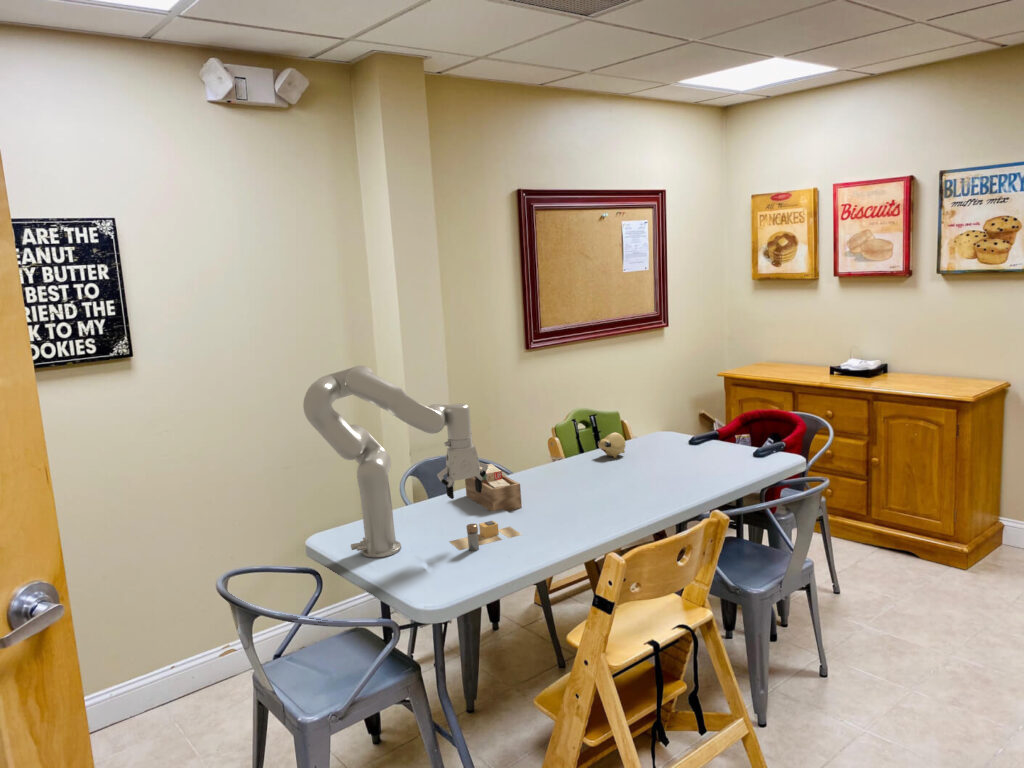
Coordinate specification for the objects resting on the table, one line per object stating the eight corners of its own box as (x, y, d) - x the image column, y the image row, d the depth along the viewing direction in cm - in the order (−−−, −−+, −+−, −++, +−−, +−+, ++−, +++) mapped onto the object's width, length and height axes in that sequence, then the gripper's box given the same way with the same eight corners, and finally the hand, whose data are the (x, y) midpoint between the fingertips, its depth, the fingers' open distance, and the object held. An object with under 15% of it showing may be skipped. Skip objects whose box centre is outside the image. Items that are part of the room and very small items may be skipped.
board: (459, 553, 237) (459, 550, 237) (449, 544, 245) (449, 541, 245) (522, 538, 247) (522, 534, 246) (510, 530, 255) (510, 526, 254)
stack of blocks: (512, 509, 276) (510, 476, 274) (496, 512, 274) (493, 479, 272) (493, 493, 296) (491, 463, 294) (478, 496, 294) (476, 465, 292)
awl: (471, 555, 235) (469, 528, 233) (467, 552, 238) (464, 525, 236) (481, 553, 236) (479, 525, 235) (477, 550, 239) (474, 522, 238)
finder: (484, 537, 246) (483, 526, 246) (479, 533, 250) (479, 522, 249) (498, 534, 248) (497, 523, 248) (493, 530, 252) (492, 519, 251)
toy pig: (594, 456, 337) (593, 433, 335) (616, 451, 342) (615, 428, 341) (608, 461, 328) (607, 437, 326) (630, 456, 334) (629, 432, 332)
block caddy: (494, 513, 272) (492, 489, 270) (466, 495, 295) (464, 473, 293) (521, 507, 276) (520, 483, 275) (492, 490, 299) (490, 468, 298)
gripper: (439, 450, 233) (444, 503, 236) (490, 440, 241) (494, 492, 243) (430, 445, 240) (435, 497, 243) (480, 436, 247) (484, 486, 250)
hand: (464, 494), depth 243 cm, fingers open, 9 cm apart
